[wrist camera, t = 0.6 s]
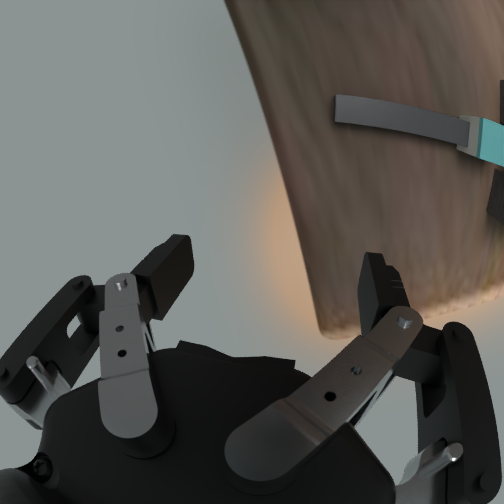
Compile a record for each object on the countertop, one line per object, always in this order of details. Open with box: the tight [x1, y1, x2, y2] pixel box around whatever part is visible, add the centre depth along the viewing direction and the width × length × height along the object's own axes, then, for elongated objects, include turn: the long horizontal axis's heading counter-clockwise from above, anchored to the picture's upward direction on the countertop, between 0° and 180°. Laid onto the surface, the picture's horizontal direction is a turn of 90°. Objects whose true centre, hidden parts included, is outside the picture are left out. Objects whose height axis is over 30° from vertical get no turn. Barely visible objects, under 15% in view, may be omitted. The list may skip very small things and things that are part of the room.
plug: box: [334, 94, 504, 166], centre depth 23 cm, size 4×21×6 cm, turn 90°
